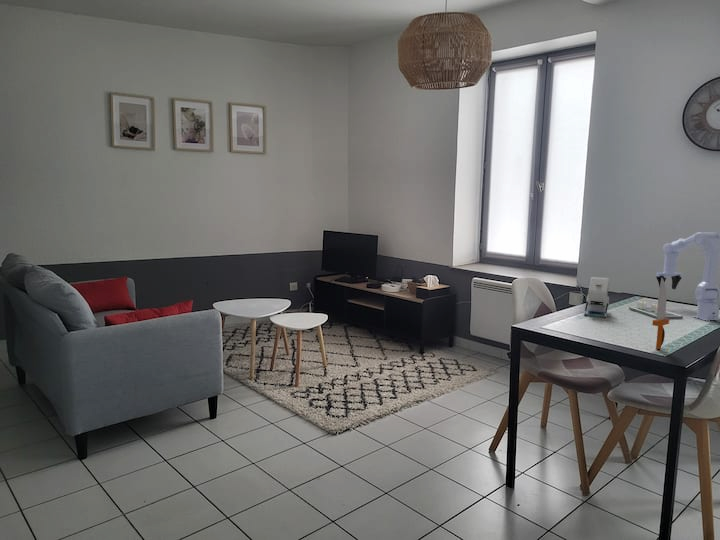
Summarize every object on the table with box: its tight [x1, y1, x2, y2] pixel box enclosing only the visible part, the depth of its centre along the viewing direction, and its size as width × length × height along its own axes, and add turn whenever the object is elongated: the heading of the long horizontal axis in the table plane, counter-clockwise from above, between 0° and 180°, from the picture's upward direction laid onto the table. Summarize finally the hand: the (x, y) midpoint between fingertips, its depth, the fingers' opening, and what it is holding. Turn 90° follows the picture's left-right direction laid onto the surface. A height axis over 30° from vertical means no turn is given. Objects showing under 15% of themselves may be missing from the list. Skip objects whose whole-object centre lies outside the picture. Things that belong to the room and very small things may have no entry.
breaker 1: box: [636, 300, 647, 309], centre depth 298 cm, size 4×2×4 cm
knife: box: [651, 277, 670, 350], centre depth 223 cm, size 8×2×30 cm, turn 126°
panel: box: [628, 306, 684, 320], centre depth 292 cm, size 23×14×1 cm, turn 9°
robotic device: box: [583, 276, 610, 319], centre depth 289 cm, size 10×21×20 cm
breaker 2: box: [650, 303, 658, 312], centre depth 291 cm, size 4×2×4 cm
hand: (667, 289), depth 309 cm, fingers open, 7 cm apart
